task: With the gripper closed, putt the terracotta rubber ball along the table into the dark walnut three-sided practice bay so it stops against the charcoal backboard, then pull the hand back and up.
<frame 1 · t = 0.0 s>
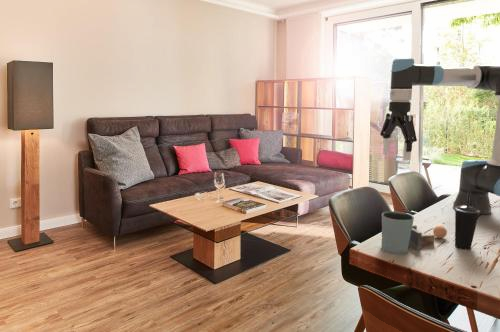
hand: (395, 157, 152), 28 cm above the table, tool pointing down, fingers open, 13 cm apart
drinking cup: (462, 247, 138), on the table
blue-grey embossed pot: (395, 249, 136), on the table
practice bay: (414, 239, 144), on the table
ball: (439, 231, 146), point 2 cm above the table
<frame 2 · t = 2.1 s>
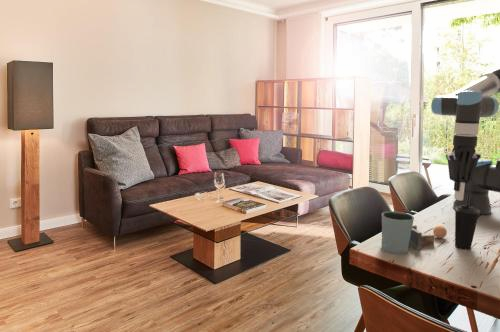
hand: (458, 199, 145), 14 cm above the table, tool pointing down, fingers closed
nothing on the table moved.
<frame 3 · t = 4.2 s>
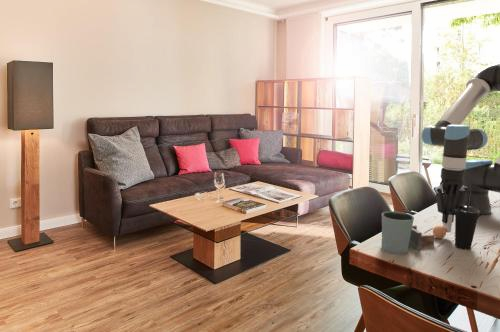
hand: (446, 231, 146), 2 cm above the table, tool pointing down, fingers closed
ball: (439, 232, 146), point 2 cm above the table, touching gripper
everything else where it was.
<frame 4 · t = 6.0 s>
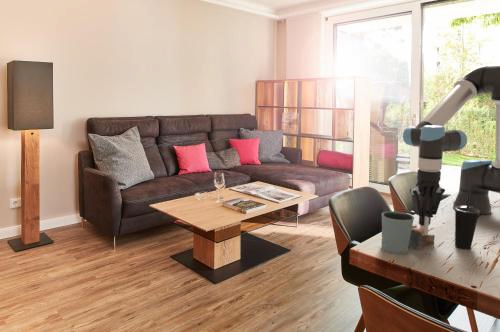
hand: (423, 233, 144), 2 cm above the table, tool pointing down, fingers closed
ball: (416, 234, 144), point 2 cm above the table, tilted 125°, touching gripper
everything else where it was.
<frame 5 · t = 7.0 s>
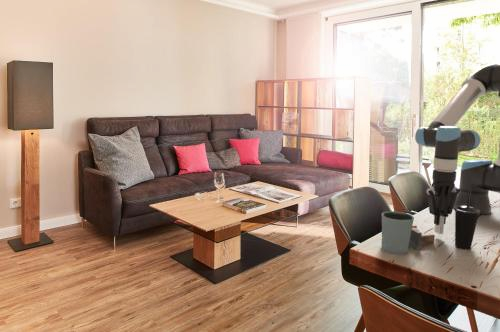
hand: (438, 232, 146), 2 cm above the table, tool pointing down, fingers closed
ball: (413, 234, 144), point 2 cm above the table, tilted 151°
everything else where it was.
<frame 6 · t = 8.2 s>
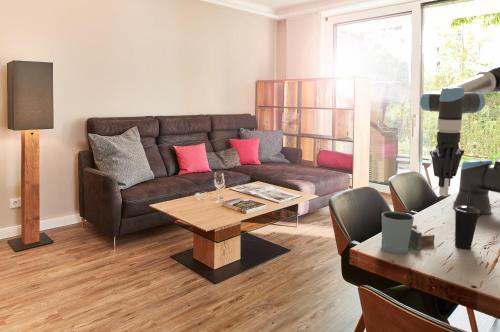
hand: (443, 195, 146), 15 cm above the table, tool pointing down, fingers closed
ball: (411, 234, 144), point 2 cm above the table, tilted 171°
everything else where it was.
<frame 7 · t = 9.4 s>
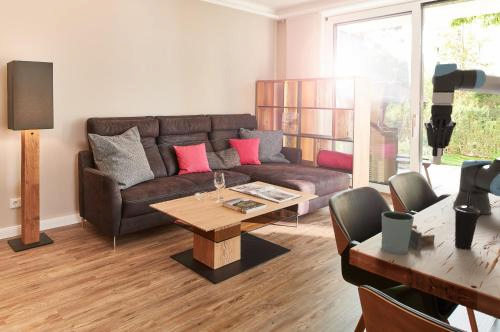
hand: (436, 164, 158), 24 cm above the table, tool pointing down, fingers closed
nothing on the table moved.
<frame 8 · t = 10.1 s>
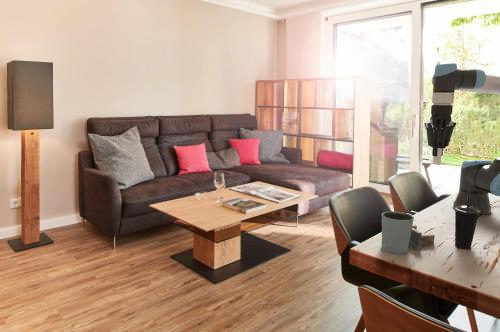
hand: (436, 164, 158), 24 cm above the table, tool pointing down, fingers closed
nothing on the table moved.
at the end: ball 1.2 cm off-centre on the practice bay, point 2.2 cm above the practice bay's base; ball point 2.2 cm above the table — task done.
